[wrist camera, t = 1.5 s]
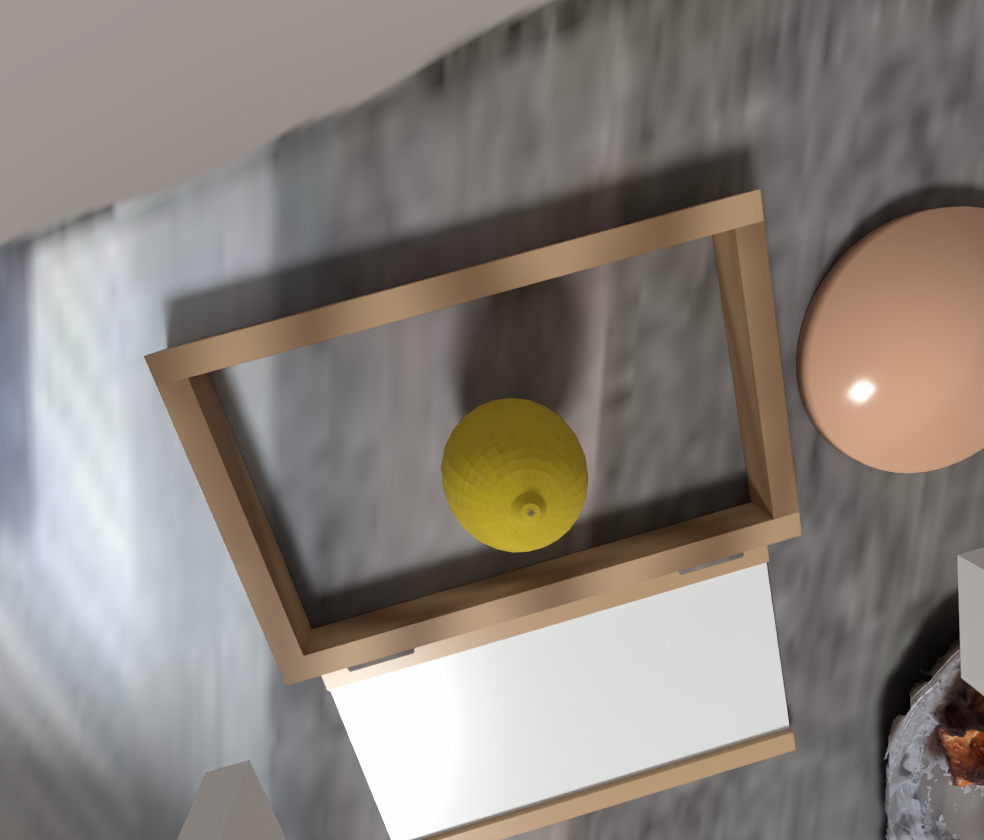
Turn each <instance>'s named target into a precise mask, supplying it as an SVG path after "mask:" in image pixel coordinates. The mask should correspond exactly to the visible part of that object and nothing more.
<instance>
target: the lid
mask: <svg viewBox="0 0 984 840" xmlns="http://www.w3.org/2000/svg"><path fill="white" fill-rule="evenodd" d="M743 553H744V555H743V557H742V558H739V559H735V560H732V561H728V562H725V563H721V564H718V565H715V566H711V567H708V568H704V569H701V570H697V571H694V572H691V573H687V574H684V575H680V574H679V572H678V571H677V572H674V573H670V574H667V575H664V576H660V577H657V578H653V579H650V580H646V581H643V582H640V583H636V584H633V585H629V586H626V587H622V588H619V589H616V590H612V591H609V592H605V593H602V594H598V595H595V596H592V597H588V598H585V599H581V600H578V601H574V602H571V603H568V604H564V605H561V606H557V607H554V608H551V609H547V610H544V611H540V612H537V613H533V614H530V615H527V616H523V617H520V618H516V619H513V620H509V621H506V622H503V623H499V624H496V625H492V626H489V627H485V628H482V629H479V630H475V631H472V632H468V633H465V634H461V635H458V636H455V637H451V638H448V639H444V640H441V641H437V642H434V643H431V644H427V645H424V646H420V647H417V648H414V653H413V654H410V655H407V656H403V657H400V658H396V659H393V660H389V661H386V662H383V663H379V664H376V665H372V666H369V667H366V668H362V669H359V670H355V671H352V672H350V671H349V670H348V668H345V669H342V670H338V671H335V672H331V673H328V674H324V675H321V676H322V678H323V681H324V683H325V685H326V688H327V690H328V691H329V690H330V691H331V693H332V696H333V698H334V701H335V703H336V706H337V708H338V710H339V713H340V715H341V718H342V720H343V723H344V725H345V728H346V730H347V733H348V735H349V737H350V740H351V742H352V745H353V747H354V750H355V752H356V755H357V757H358V760H359V762H360V764H361V767H362V769H363V772H364V774H365V777H366V779H367V782H368V784H369V787H370V789H371V791H372V794H373V796H374V799H375V801H376V804H377V806H378V809H379V811H380V814H381V816H382V818H383V821H384V823H385V826H386V828H387V831H388V833H389V836H390V838H391V840H501V839H504V838H508V837H511V836H514V835H518V834H521V833H524V832H527V831H531V830H534V829H537V828H541V827H544V826H547V825H550V824H554V823H557V822H560V821H564V820H567V819H570V818H573V817H577V816H580V815H583V814H587V813H590V812H593V811H596V810H600V809H603V808H606V807H610V806H613V805H616V804H619V803H623V802H626V801H629V800H633V799H636V798H639V797H642V796H646V795H649V794H652V793H656V792H659V791H662V790H665V789H669V788H672V787H675V786H679V785H682V784H685V783H688V782H692V781H695V780H698V779H702V778H705V777H708V776H711V775H715V774H718V773H721V772H725V771H728V770H731V769H734V768H738V767H741V766H744V765H748V764H751V763H754V762H757V761H761V760H764V759H767V758H771V757H774V756H777V755H780V754H784V753H787V752H790V751H794V750H795V743H794V736H793V732H792V731H791V729H790V727H789V720H788V713H787V705H786V698H785V691H784V684H783V677H782V670H781V663H780V656H779V649H778V642H777V635H776V628H775V620H774V613H773V606H772V599H771V592H770V585H769V578H768V571H767V564H766V562H769V557H768V550H767V545H766V546H763V547H759V548H756V549H753V550H749V551H746V552H743Z"/></svg>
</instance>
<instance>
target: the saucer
mask: <svg viewBox="0 0 984 840" xmlns="http://www.w3.org/2000/svg"><path fill="white" fill-rule="evenodd" d="M796 367H797V381H798V387H799V392H800V396H801V399H802V402H803V405H804V408H805V411H806V413H807V415H808V416H809V418H810V420H811V422H812V424H813V425H814V427H815V428H816V429H817V431H818V432H819V434H820V435H821V436H822V437H823V438H824V439H825V440H826V441H827V442H828V443H829V444H830V445H832V446H833V447H835V448H836V449H837V450H839V451H840V452H841V453H843V454H845V455H847V456H849V457H851V458H853V459H855V460H857V461H860V462H862V463H864V464H866V465H868V466H871V467H874V468H877V469H880V470H885V471H890V472H896V473H917V472H926V471H931V470H935V469H940V468H943V467H946V466H949V465H952V464H954V463H957V462H959V461H961V460H963V459H965V458H967V457H970V456H972V455H973V454H975V453H976V452H978V451H980V450H981V449H983V448H984V208H978V207H968V206H961V207H945V208H935V209H927V210H922V211H917V212H912V213H909V214H906V215H903V216H901V217H898V218H895V219H893V220H891V221H889V222H887V223H885V224H883V225H881V226H879V227H877V228H876V229H874V230H873V231H871V232H870V233H868V234H867V235H865V236H864V237H862V238H861V239H860V240H859V241H858V242H856V243H855V244H854V245H853V246H852V247H850V248H849V249H848V250H847V251H846V252H845V253H844V254H843V256H842V257H841V258H840V259H839V260H838V261H837V262H836V263H835V264H834V266H833V267H832V268H831V270H830V271H829V272H828V273H827V275H826V276H825V277H824V279H823V281H822V282H821V284H820V286H819V287H818V289H817V291H816V292H815V294H814V296H813V298H812V301H811V303H810V305H809V307H808V309H807V312H806V315H805V318H804V321H803V324H802V327H801V331H800V336H799V341H798V347H797V359H796Z"/></svg>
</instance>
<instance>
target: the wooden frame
mask: <svg viewBox="0 0 984 840" xmlns="http://www.w3.org/2000/svg"><path fill="white" fill-rule="evenodd" d="M710 235H712V237H713V244H714V251H715V258H716V264H717V271H718V278H719V285H720V292H721V299H722V306H723V313H724V320H725V327H726V334H727V340H728V347H729V354H730V361H731V368H732V375H733V382H734V389H735V396H736V403H737V410H738V416H739V423H740V430H741V437H742V444H743V451H744V458H745V465H746V472H747V479H748V486H749V492H750V499H751V502H750V503H746V504H743V505H739V506H736V507H732V508H729V509H725V510H722V511H719V512H715V513H712V514H708V515H705V516H701V517H698V518H694V519H691V520H687V521H684V522H680V523H677V524H674V525H670V526H667V527H663V528H660V529H656V530H653V531H649V532H646V533H642V534H639V535H636V536H632V537H629V538H625V539H622V540H618V541H615V542H611V543H608V544H604V545H601V546H597V547H594V548H591V549H587V550H584V551H580V552H577V553H573V554H570V555H566V556H563V557H559V558H556V559H553V560H549V561H546V562H542V563H539V564H535V565H532V566H528V567H525V568H521V569H518V570H514V571H511V572H508V573H504V574H501V575H497V576H494V577H490V578H487V579H483V580H480V581H476V582H473V583H469V584H466V585H463V586H459V587H456V588H452V589H449V590H445V591H442V592H438V593H435V594H431V595H428V596H425V597H421V598H418V599H414V600H411V601H407V602H404V603H400V604H397V605H393V606H390V607H386V608H383V609H380V610H376V611H373V612H369V613H366V614H362V615H359V616H355V617H352V618H348V619H345V620H342V621H338V622H335V623H331V624H328V625H324V626H321V627H317V628H314V629H312V628H311V626H310V623H309V621H308V618H307V616H306V613H305V611H304V608H303V606H302V603H301V601H300V599H299V596H298V594H297V591H296V589H295V586H294V584H293V581H292V579H291V576H290V574H289V571H288V569H287V566H286V564H285V561H284V559H283V556H282V554H281V551H280V549H279V547H278V544H277V542H276V539H275V537H274V534H273V532H272V529H271V527H270V524H269V522H268V519H267V517H266V514H265V512H264V509H263V507H262V504H261V502H260V499H259V497H258V495H257V492H256V490H255V487H254V485H253V482H252V480H251V477H250V475H249V472H248V470H247V467H246V465H245V462H244V460H243V457H242V455H241V452H240V450H239V447H238V445H237V443H236V440H235V438H234V435H233V433H232V430H231V428H230V425H229V423H228V420H227V418H226V415H225V413H224V410H223V408H222V405H221V403H220V400H219V398H218V395H217V393H216V391H215V388H214V386H213V383H212V381H211V378H210V376H209V373H208V372H211V371H215V370H219V369H222V368H226V367H230V366H233V365H237V364H241V363H244V362H248V361H252V360H255V359H259V358H263V357H266V356H270V355H274V354H277V353H281V352H285V351H288V350H292V349H296V348H299V347H303V346H307V345H310V344H314V343H318V342H321V341H325V340H329V339H332V338H336V337H340V336H343V335H347V334H351V333H354V332H358V331H362V330H365V329H369V328H373V327H376V326H380V325H384V324H387V323H391V322H395V321H398V320H402V319H406V318H409V317H413V316H417V315H420V314H424V313H428V312H431V311H435V310H439V309H442V308H446V307H450V306H453V305H457V304H461V303H464V302H468V301H472V300H475V299H479V298H483V297H486V296H490V295H494V294H497V293H501V292H505V291H508V290H512V289H516V288H519V287H523V286H527V285H530V284H534V283H538V282H541V281H545V280H549V279H552V278H556V277H560V276H563V275H567V274H571V273H574V272H578V271H581V270H585V269H589V268H592V267H596V266H600V265H603V264H607V263H611V262H614V261H618V260H622V259H625V258H629V257H633V256H636V255H640V254H644V253H647V252H651V251H655V250H658V249H662V248H666V247H669V246H673V245H677V244H680V243H684V242H688V241H691V240H695V239H699V238H702V237H706V236H710ZM144 357H145V360H146V362H147V364H148V367H149V369H150V371H151V373H152V376H153V378H154V380H155V383H156V385H157V387H158V390H159V392H160V394H161V397H162V399H163V401H164V404H165V406H166V408H167V410H168V413H169V415H170V417H171V420H172V422H173V424H174V427H175V429H176V431H177V434H178V436H179V438H180V441H181V443H182V445H183V448H184V450H185V452H186V454H187V457H188V459H189V461H190V464H191V466H192V468H193V471H194V473H195V475H196V478H197V480H198V482H199V485H200V487H201V489H202V491H203V494H204V496H205V498H206V501H207V503H208V505H209V508H210V510H211V512H212V515H213V517H214V519H215V522H216V524H217V526H218V529H219V531H220V533H221V535H222V538H223V540H224V542H225V545H226V547H227V549H228V552H229V554H230V556H231V559H232V561H233V563H234V566H235V568H236V570H237V572H238V575H239V577H240V579H241V582H242V584H243V586H244V589H245V591H246V593H247V596H248V598H249V600H250V603H251V605H252V607H253V610H254V612H255V614H256V616H257V619H258V621H259V623H260V626H261V628H262V630H263V633H264V635H265V637H266V640H267V642H268V644H269V647H270V649H271V651H272V653H273V656H274V658H275V660H276V663H277V665H278V667H279V670H280V672H281V674H282V677H283V679H284V681H285V684H286V686H287V685H290V684H294V683H297V682H300V681H304V680H307V679H311V678H314V677H318V676H321V675H324V674H328V673H331V672H335V671H338V670H342V669H345V668H348V670H349V671H350V672H352V671H355V670H359V669H362V668H366V667H369V666H372V665H376V664H379V663H383V662H386V661H389V660H393V659H396V658H400V657H403V656H407V655H410V654H413V653H414V648H417V647H420V646H424V645H427V644H431V643H434V642H437V641H441V640H444V639H448V638H451V637H455V636H458V635H461V634H465V633H468V632H472V631H475V630H479V629H482V628H485V627H489V626H492V625H496V624H499V623H503V622H506V621H509V620H513V619H516V618H520V617H523V616H527V615H530V614H533V613H537V612H540V611H544V610H547V609H551V608H554V607H557V606H561V605H564V604H568V603H571V602H574V601H578V600H581V599H585V598H588V597H592V596H595V595H598V594H602V593H605V592H609V591H612V590H616V589H619V588H622V587H626V586H629V585H633V584H636V583H640V582H643V581H646V580H650V579H653V578H657V577H660V576H664V575H667V574H670V573H674V572H677V571H678V572H679V574H680V575H684V574H687V573H691V572H694V571H697V570H701V569H704V568H708V567H711V566H715V565H718V564H721V563H725V562H728V561H732V560H735V559H739V558H742V557H743V555H744V553H743V552H746V551H749V550H753V549H756V548H759V547H763V546H766V545H770V544H773V543H777V542H780V541H783V540H787V539H790V538H794V537H797V536H801V535H802V533H801V525H800V517H799V508H798V500H797V492H796V483H795V475H794V467H793V458H792V450H791V442H790V433H789V425H788V417H787V408H786V400H785V392H784V383H783V375H782V367H781V358H780V350H779V342H778V333H777V325H776V317H775V308H774V300H773V292H772V283H771V275H770V267H769V258H768V250H767V242H766V233H765V225H764V217H763V208H762V200H761V192H760V189H759V190H754V191H749V192H745V193H740V194H735V195H731V196H728V197H724V198H720V199H717V200H713V201H709V202H706V203H702V204H698V205H695V206H691V207H687V208H683V209H680V210H676V211H672V212H669V213H665V214H661V215H658V216H654V217H650V218H647V219H643V220H639V221H636V222H632V223H628V224H624V225H621V226H617V227H613V228H610V229H606V230H602V231H599V232H595V233H591V234H588V235H584V236H580V237H576V238H573V239H569V240H565V241H562V242H558V243H554V244H551V245H547V246H543V247H540V248H536V249H532V250H528V251H525V252H521V253H517V254H514V255H510V256H506V257H503V258H499V259H495V260H492V261H488V262H484V263H480V264H477V265H473V266H469V267H466V268H462V269H458V270H455V271H451V272H447V273H444V274H440V275H436V276H432V277H429V278H425V279H421V280H418V281H414V282H410V283H407V284H403V285H399V286H396V287H392V288H388V289H384V290H381V291H377V292H373V293H370V294H366V295H362V296H359V297H355V298H351V299H348V300H344V301H340V302H336V303H333V304H329V305H325V306H322V307H318V308H314V309H311V310H307V311H303V312H300V313H296V314H292V315H288V316H285V317H281V318H277V319H274V320H270V321H266V322H263V323H259V324H255V325H252V326H248V327H244V328H240V329H237V330H233V331H229V332H226V333H222V334H218V335H215V336H211V337H207V338H204V339H200V340H196V341H192V342H189V343H185V344H181V345H178V346H174V347H170V348H167V349H164V350H161V351H158V352H155V353H152V354H149V355H146V356H144Z"/></svg>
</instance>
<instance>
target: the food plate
mask: <svg viewBox="0 0 984 840" xmlns="http://www.w3.org/2000/svg"><path fill="white" fill-rule="evenodd" d="M937 660H938V661H936V664H935V665H934V667H933V668H932V669H931V672H929V671H928V672H924V671H922V670H923V669H922V668H920V671H921V672H922V673H924V674H925V675H929V676H931V675H932V676H933V677H932V679H931V680H930V681H929V682H924V680H921V681H920V682H919V683H917V684H915V683H914V684H915V686H914V687H912V689H911V692H910V704H911V706H910V710H909V711H908V713H907V714H906V715H905V716H902V715H900V714H898V715H897V717H896V718H895V719H894V720H893V721H892V726H891V732H890V735H889V737H888V739H889V740H888V742H889V745H888V748H887V752H886V755H885V757H884V759H883V760H885V759H886V758H887V755H888V754H889V757H888V760H889V761H888V764H887V766H886V777H887V779H886V780H885V781H886V784H887V785H886V789H885V794H886V795H885V804H884V805H885V808H884V810H885V812H886V814H887V817H888V822H887V825H888V827H887V829H886V831H887V835H886V839H887V840H960V839H959V838H958V837H957V834H953V836H951V834H950V833H949V832H948V831H946V828H945V827H946V824H945V823H941V821H942V820H944V819H943V815H941V816H940V818H939V820H934V818H933V815H932V812H933V809H932V807H931V806H930V800H931V797H929V800H928V801H924V800H923V799H922V792H921V789H920V787H919V785H920V780H921V777H922V774H923V773H927V774H928V776H927V779H928V780H930V779H931V778H932V777H934V774H932V773H931V770H932V768H933V767H935V766H937V764H940V768H941V769H942V770H945V771H946V772H945V774H944V775H943V776H948V775H950V776H951V782H949V784H950V785H956V786H958V787H959V786H960V788H961V789H962V790H963V789H965V790H964V792H963V793H964V794H966V793H969V792H970V791H971V789H970V786H969V784H975V785H976V788H977V789H978V788H980V787H981V791H982V793H981V797H984V695H982V694H981V693H980V692H978V691H977V690H976V689H975V688H973V687H972V686H971V685H969V684H968V683H967V682H966V681H964V680H963V679H962V678H961V659H960V639H959V640H957V639H956V640H954V643H952V645H951V646H950V648H949V651H947V653H946V655H944V657H940V658H937ZM923 755H924V757H925V759H927V758H928V761H930V763H929V765H928V767H927V768H926V769H923V767H925V765H923ZM927 756H928V757H927ZM936 756H937V759H934V760H933V758H935V757H936ZM936 781H938V779H935V782H936ZM927 788H928V789H930V790H931V787H929V786H927ZM974 790H975V791H976V789H974ZM929 795H930V791H929V792H928V794H927V796H929ZM974 796H975V795H974ZM974 796H973V797H974ZM982 804H983V803H982ZM956 805H957V804H954V806H956ZM940 809H941V808H940ZM955 810H956V809H955ZM972 837H973V836H972Z"/></svg>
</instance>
